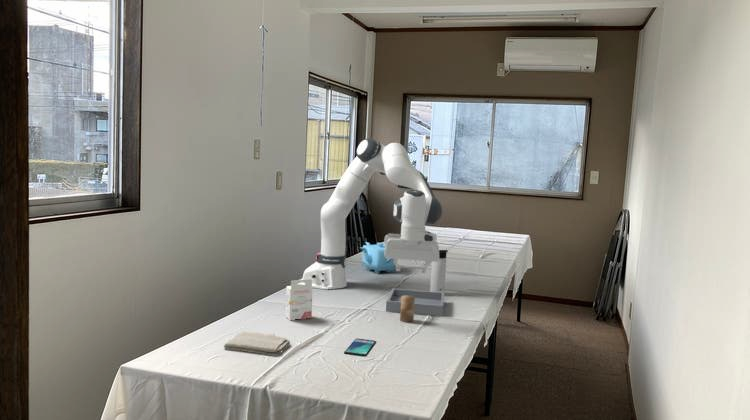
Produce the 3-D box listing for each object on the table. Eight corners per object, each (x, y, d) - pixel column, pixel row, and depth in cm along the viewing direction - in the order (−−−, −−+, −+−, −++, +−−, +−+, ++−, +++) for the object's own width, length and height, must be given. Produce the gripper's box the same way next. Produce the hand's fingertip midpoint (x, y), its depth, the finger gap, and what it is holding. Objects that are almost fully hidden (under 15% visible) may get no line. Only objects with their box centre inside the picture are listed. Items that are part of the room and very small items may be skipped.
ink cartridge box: (306, 315, 220) (308, 276, 218) (311, 318, 216) (313, 279, 214) (284, 317, 216) (286, 277, 215) (289, 321, 212) (290, 280, 210)
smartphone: (376, 340, 194) (365, 355, 180) (376, 342, 194) (365, 358, 180) (355, 337, 196) (343, 352, 181) (355, 340, 196) (343, 354, 181)
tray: (385, 311, 231) (386, 301, 230) (391, 297, 252) (392, 288, 252) (442, 316, 228) (443, 306, 228) (443, 302, 250) (444, 292, 249)
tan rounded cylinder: (399, 321, 218) (400, 298, 217) (400, 318, 223) (402, 294, 222) (413, 323, 217) (414, 299, 216) (413, 319, 222) (415, 295, 221)
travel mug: (444, 296, 259) (447, 251, 257) (429, 294, 260) (431, 250, 258) (445, 293, 265) (448, 249, 263) (430, 291, 267) (433, 247, 264)
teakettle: (393, 276, 295) (395, 247, 294) (356, 272, 298) (358, 244, 297) (398, 269, 314) (400, 241, 312) (364, 265, 317) (365, 238, 315)
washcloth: (278, 358, 176) (278, 348, 176) (222, 351, 179) (222, 341, 179) (291, 345, 188) (291, 335, 188) (238, 338, 191) (238, 329, 191)
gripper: (383, 234, 215) (382, 271, 216) (440, 237, 212) (438, 275, 214) (385, 231, 221) (383, 268, 222) (440, 235, 218) (438, 271, 220)
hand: (411, 271), depth 218 cm, fingers open, 8 cm apart
